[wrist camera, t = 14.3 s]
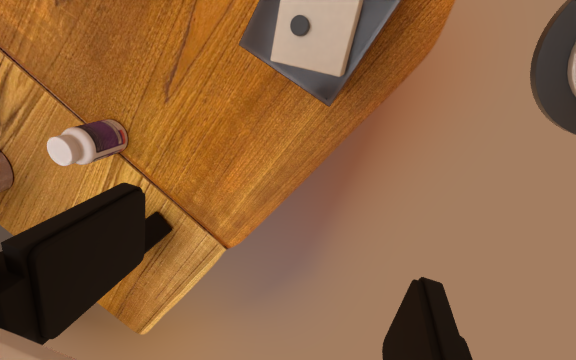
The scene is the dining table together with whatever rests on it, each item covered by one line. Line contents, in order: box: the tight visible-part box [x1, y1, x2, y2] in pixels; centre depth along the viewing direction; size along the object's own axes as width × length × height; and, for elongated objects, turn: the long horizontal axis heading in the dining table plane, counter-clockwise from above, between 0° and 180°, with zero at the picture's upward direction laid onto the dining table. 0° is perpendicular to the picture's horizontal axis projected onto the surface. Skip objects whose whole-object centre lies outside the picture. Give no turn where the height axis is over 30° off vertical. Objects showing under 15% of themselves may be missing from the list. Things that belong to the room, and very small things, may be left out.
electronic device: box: [145, 212, 172, 253], centre depth 50 cm, size 4×10×10 cm, turn 129°
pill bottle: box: [47, 119, 128, 166], centre depth 45 cm, size 5×5×10 cm
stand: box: [239, 0, 404, 107], centre depth 29 cm, size 13×9×15 cm
